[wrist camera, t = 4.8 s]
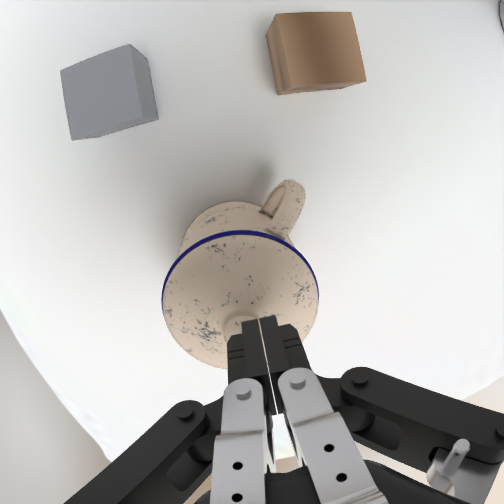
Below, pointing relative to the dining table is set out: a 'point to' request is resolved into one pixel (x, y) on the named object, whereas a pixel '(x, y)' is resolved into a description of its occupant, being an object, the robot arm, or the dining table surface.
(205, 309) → the teacup with lid
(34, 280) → the dining table surface
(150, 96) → the slate-grey block
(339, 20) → the walnut block
